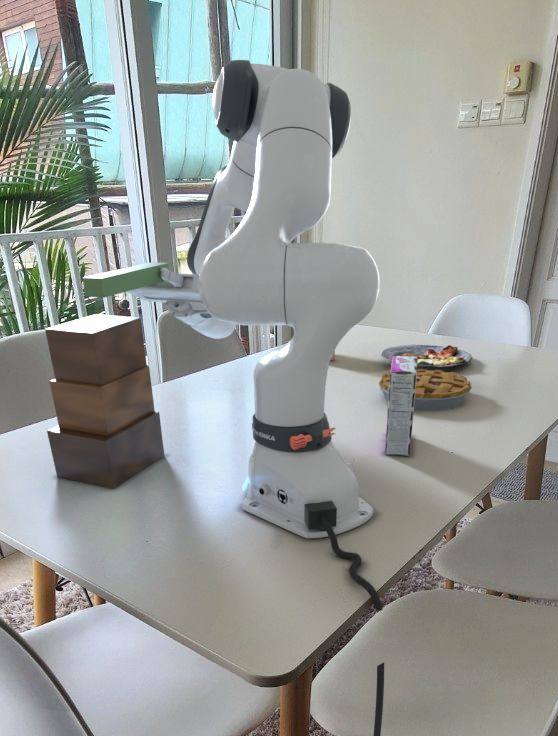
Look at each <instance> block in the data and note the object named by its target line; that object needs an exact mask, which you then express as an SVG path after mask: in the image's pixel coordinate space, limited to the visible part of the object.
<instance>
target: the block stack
mask: <svg viewBox="0 0 558 736" xmlns="http://www.w3.org/2000/svg"><path fill="white" fill-rule="evenodd" d="M142 325H143V324H142V317H137V316H125V315H124V316H123V315H113V314H112V315H111V314H100V313H99V314H98V313H95V314H91V315H88V316H85V317H82V318H78V319H74V320H70V321H67V322H64V323H61V324H57V325H54V326H53V325H52V326H51V327H50V326H49V327H46V328H45V329H44V331H45V336H46V342H47V346H48V351H49V355H50V359H51V365H52V371H53V374H54V375H53V376H54V378H53V379H51V380H49V381H48V382H49V387H50V391H51V396H52V401H53V405H54V411H55V415H56V420H57V424H58V425H56V426H53V427H52V428H50V429H48V430H46V433H47V437H48V438H47V439H48V442H49V447H50V451H51V456H52V461H53V465H54V469H55V474H56V477H57V478H62V479H66V480H71V481H74V482H79V483H84V484H89V485H92V486H93V485H94V486H99V487H104V488H108V489H116V488H117V487H119V486H120V485H122V484H123V483H125V482H126V481H128V480H130V479H131V478H132V477H134V476H136V475H137V474H139V473H141V472H142V471H143V470H145V469H147V468H148V467H150V466H151V465H153V464H155V463H156V462H157V461H159V460H160V459H162V458H164V457H165V449H164V441H163V439H164V438H163V433H162V432H163V431H162V423H161V415H160V411H156V410H155V402H154V394H153V385H152V378H151V370H150V366H149V365H147V356H146V349H145V340H144V332H143V326H142Z"/></svg>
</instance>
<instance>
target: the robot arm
mask: <svg viewBox="0 0 558 736" xmlns="http://www.w3.org/2000/svg"><path fill="white" fill-rule="evenodd" d="M213 87H214V88H213V93H212V112H213V115H214V116H213V117H214V121H215V126H216V128H217V129H218V132H219V133H220V134H221V135H222V136H223V137H225V138H228V139H229V140H230V141H233V143H232V148H231V153H230V158H229V160H228V161H229V162H228V164H227V165H225V166H223V167H222V168H220V170H219V171H218V172H217V173H216V175H215V177H214V179H213V181H212V184H211V187H210V189H209V192H208V195H207V197H206V202H205V205H204V207H203V210H202V211H203V212H202V214H201V218H200V221H199V223H198V228H197V230H196V233H195V234H194V237H193V239H192V240H191V242H190V244H189V247H188V250H187V255H186V264H187V267H188V270H189V271H190V272H191V273H177V272H175V271H172V270H170V269H169V270H168V269H167V268H159V270H158V271H159V272H158V277H159V278H160V279H162V280H166V281H164V282H160V283H157V284H153V285H149V286H145V287H142V288H138V289H134V290H131V291H127V292H126V293H128V294H131V295H132V296H134V297H136V298H137V299H140V300H143V301H146V302H153V303H164V304H165V307H166V309H167V311H168V312H169V314H170V315H171V316H173V317H175V318H176V319H178V320H179V321H181V322H182V323H184V324H185V325H187V326H190V327H191V328H192V329H193V330H194V331H196V332H198V333H199V334H201V335H203V336H206V337H207V338H210V339H215V340H220V339H226V338H227V337H229V336H230V335H232V333H234V331H235V329H236V328H237V325H240V326H287V327H292V329H293V336H292V338H291V339H290V340H289V341H288V342H287V343H285V344H283V345H281V346H279V347H277V348H274V349H273V350H271V351H269V352H268V353H266V354H265V355H263V356H262V357H261V358H260V359H259V360H258V361H257V363H256V365H255V367H254V370H253V374H252V375H253V399H254V401H253V402H254V413H253V415H252V423H251V430H252V438H253V440H254V445H253V449H252V452H251V454H250V457H249V460H248V471H247V472H248V473H247V476H246V478H245V480H244V482H243V484H242V486H241V489H242V491H243V492H244V491H245V490H246V488H247V494H246V495H247V496H246V497H245V498H244V500H242V510H243V511H245V512H247V513H249V514H251V515H254V516H256V517H258V518H260V519H263V520H265V521H267V522H269V523H271V524H273V525H275V526H278V527H280V528H282V529H285V530H287V531H289V532H291V533H293V534H294V535H295V534H296V536H299V537H302V538H305V539H320V538H329V541H330V546H331V549H332V552H333V553H334V554H335V555H336V556H338V557H339V558H341V559H346V560H352V561H353V562H352V564H351V565H350V566H349V570H348V571H349V576H350V577H351V578H352V580H353V581H354V582H355V583H357V584H358V585H359V586H360V587H362V588H363V589H364V590H365V591H366V592H367V593H368V595H369V596H370V598H371V601H372V604H373V607H374V610H376V611H379V612H381V611H383V605H382V602H381V599H380V596H379V594H378V592H377V589H375V587H374V586H373V584H371V582H369V581H368V580H366V579H365V578H364V577H362V576H361V575H360V574H359V573H358V571H357V570H358V569H359V568H360V567H361V565H362V562H363V560H362V557H361V556H360V554H358V553H356V552H351V551H350V552H349V551H344V550H342V549H341V548H340V546H339V543H338V538H337V535H339V534H342V533H345V532H348V531H351V530H353V529H355V528H357V527H359V526H361V525H363V524H365V523H366V522H368V521H369V520H370V519H371V518H372V517H373V516H374V514H375V513H374V507H373V506H372V505H371V504H370V503H368V502H367V501H366V500H364V499H363V498H362V497H361V496H360V488H359V482H358V478H357V476H356V474H355V468H354V466H353V464H352V463H350V462H349V463H347V462H346V461H345V459H344V458H343V456H342V455H341V454H340V452H339V450H337V448H336V447H335V445H334V444H333V442H332V436H334V435H336V432H333V431H335V430H336V427H331V428H330V422H329V420H328V415H327V414H326V412H325V404H326V403H325V402H326V401H325V400H326V385H327V378H328V377H327V376H328V370H329V366H330V363H331V361H330V360H331V357H332V355H333V352H334V350H335V351H336V348H337V347H338V345H339V344H340V342H341V340H342V339H343V338H344V337H345V336H346V335H347V333H348V332H349V331H350V330H351V329H352V328H354V327H355V326H356V325H357V324H359V323H360V322H362V321H363V320H364V319H365V318H366V317H367V316H368V315H369V314H370V313H371V311H372V309H373V308H374V306H375V305H376V302H377V299H378V296H379V292H380V286H381V285H380V280H381V279H380V273H379V269H378V265H377V263H376V261H375V259H374V258H373V256H372V254H371V253H370V252H369V251H368V249H366V248H363V247H360V246H359V247H358V246H355V245H352V244H351V245H350V244H345V243H340V242H293V240H295V239H296V238H297V237H298V236H300V235H302V234H304V233H305V232H307V231H309V230H311V229H313V228H314V227H315V226H317V225H318V224H319V222H320V221H321V220H322V219H323V217H324V216H325V214H326V213H327V211H328V209H329V206H330V203H331V191H332V189H331V188H332V167H333V165H332V164H333V159H334V158H335V157H336V156H337V155H339V154H340V153H341V151H342V149H343V148H344V145H345V143H346V141H347V138H348V135H349V131H350V127H351V116H352V105H351V101H350V98H349V96H348V93H347V92H346V91H345V90H344V89H342V88H340V87H339V86H337V85H335V84H333V83H331V82H327V83H324V82H322V80H321V78H320V77H318V75H316V74H315V73H313V72H311V71H309V70H306V69H303V68H290V69H289V68H286V67H281V66H276V65H270V64H262V63H251V61H250V60H248V59H232V60H229V61H228V62H227V63H226V64H225V65H224V66H222V68H221V71H220V74H219V75H218V77H217V79H216V81H215V85H214V86H213ZM235 209H238V210H240V211H243V212H246V213H245V215H244V216H243V218H242V220H241V221H240V223H239V224H238V226H237V227H236V229H235V230H234V231H233V233H231V235H230V236H229V237H227V231H228V229H229V226H230V223H231V220H232V217H233V214H234V211H235ZM242 491H241V492H242ZM375 693H376V694H375V713H374V725H373V735H372V736H381V732H382V725H383V724H382V723H383V710H384V696H385V695H384V694H385V662H382V663H380V664H378V665H377V666H376V692H375Z"/></svg>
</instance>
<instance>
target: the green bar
mask: <svg viewBox="0 0 558 736" xmlns="http://www.w3.org/2000/svg"><path fill="white" fill-rule="evenodd" d="M159 268H167V269H168V270H170V263H169V262H158V261H157V262H155V261H154V262H153V261H151V262H145V263H141V264H137V265H132V266H128V267H124V268H120V269H114V270H111V271H106V272H102V273H101V272H100V273H97V274H93V275H92V274H91V275H88V276H84V277H82V284H83V290H84V296H85V297H87V298H88V297H90V298H103V299H105V298H108V297H112V296H115V295H119V294H124V293H128V292H127V291H131V290H134V289H138V288H142V287H145V286H149V285H153V284H157V283H160V282H164V281H166V280H162V279H160V278H159V277H158V272H159V271H158V270H159Z"/></svg>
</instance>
